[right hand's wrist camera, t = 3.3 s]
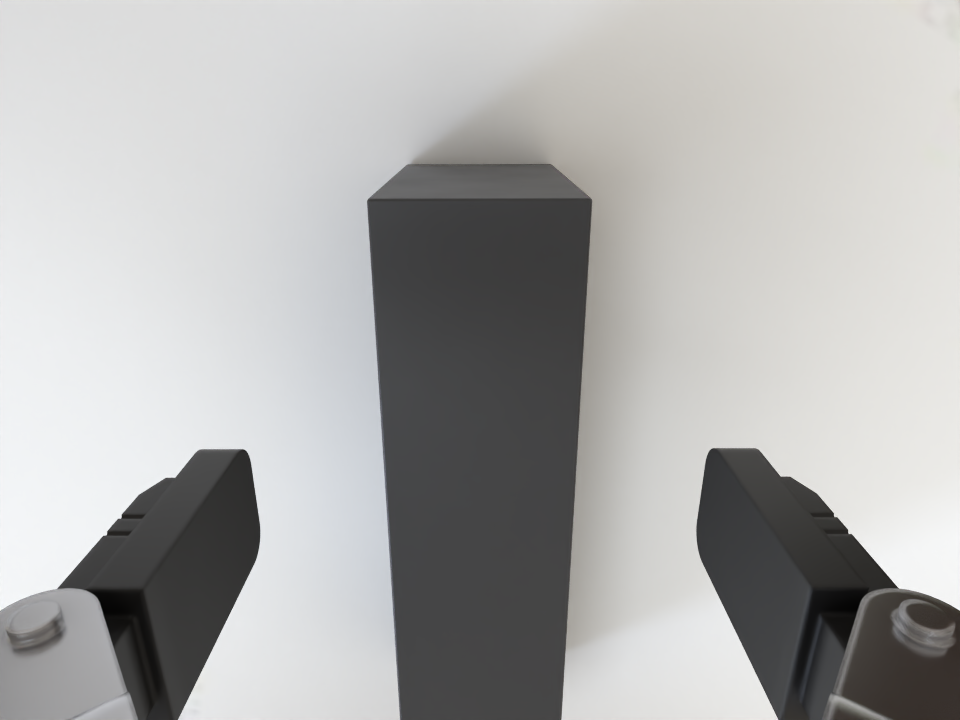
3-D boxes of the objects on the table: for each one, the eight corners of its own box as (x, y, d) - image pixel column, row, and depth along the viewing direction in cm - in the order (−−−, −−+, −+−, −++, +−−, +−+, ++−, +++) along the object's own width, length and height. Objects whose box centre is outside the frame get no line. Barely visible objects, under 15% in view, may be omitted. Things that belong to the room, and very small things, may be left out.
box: (406, 164, 27) (366, 199, 18) (552, 164, 27) (592, 198, 18) (427, 665, 37) (409, 862, 28) (533, 664, 37) (553, 861, 28)
